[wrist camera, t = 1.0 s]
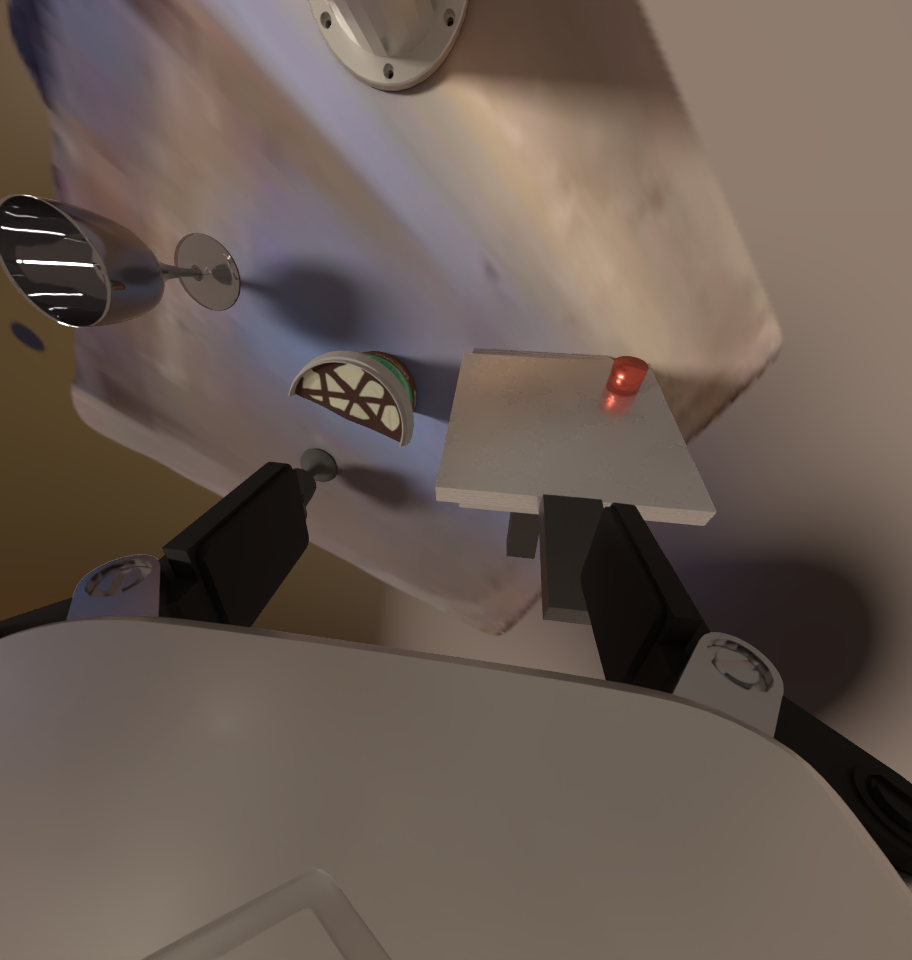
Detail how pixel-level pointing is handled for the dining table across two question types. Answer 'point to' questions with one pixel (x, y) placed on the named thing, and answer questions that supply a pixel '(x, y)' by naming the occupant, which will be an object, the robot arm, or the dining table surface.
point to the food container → (362, 390)
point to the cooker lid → (567, 455)
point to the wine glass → (102, 264)
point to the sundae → (314, 472)
